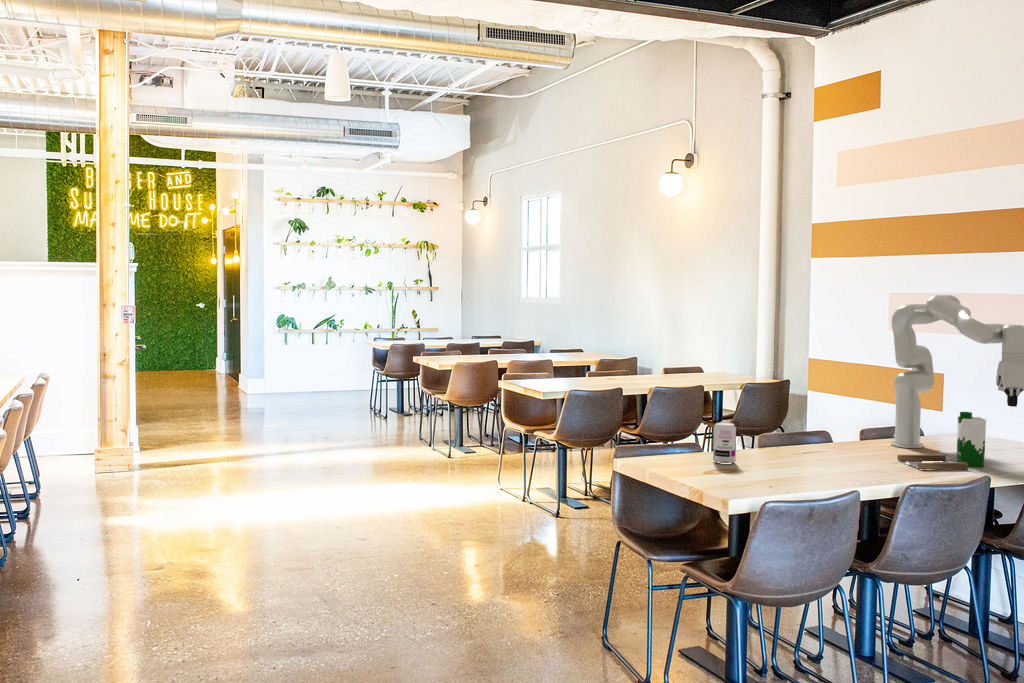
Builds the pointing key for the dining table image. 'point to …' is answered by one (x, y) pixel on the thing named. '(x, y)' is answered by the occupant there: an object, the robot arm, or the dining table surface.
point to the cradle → (917, 462)
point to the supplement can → (724, 443)
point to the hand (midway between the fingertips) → (1012, 406)
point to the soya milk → (971, 439)
